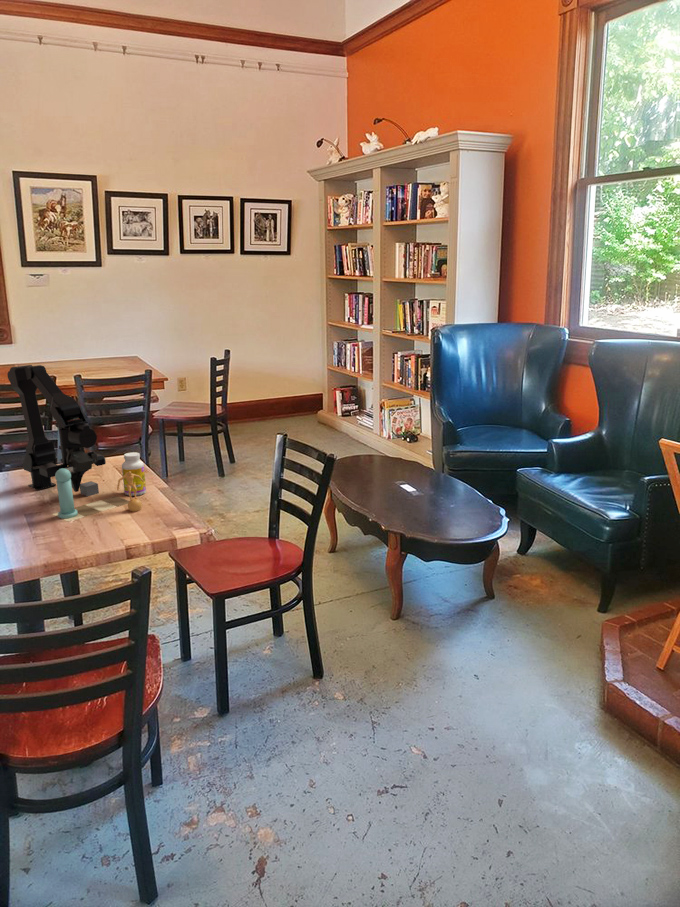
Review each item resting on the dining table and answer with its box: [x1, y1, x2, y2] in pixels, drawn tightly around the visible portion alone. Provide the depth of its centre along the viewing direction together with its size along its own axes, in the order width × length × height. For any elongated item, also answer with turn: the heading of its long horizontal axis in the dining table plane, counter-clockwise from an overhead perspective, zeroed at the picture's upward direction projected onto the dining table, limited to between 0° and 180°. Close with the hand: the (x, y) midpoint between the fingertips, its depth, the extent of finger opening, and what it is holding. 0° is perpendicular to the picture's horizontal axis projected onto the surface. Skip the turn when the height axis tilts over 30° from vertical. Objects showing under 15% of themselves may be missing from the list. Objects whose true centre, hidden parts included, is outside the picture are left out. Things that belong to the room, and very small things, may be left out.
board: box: [51, 495, 130, 523], centre depth 202 cm, size 10×21×1 cm, turn 139°
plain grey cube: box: [79, 480, 100, 498], centre depth 214 cm, size 4×4×4 cm
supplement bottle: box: [121, 451, 147, 497], centre depth 215 cm, size 7×7×13 cm
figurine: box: [116, 471, 146, 513], centre depth 199 cm, size 8×6×12 cm
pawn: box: [54, 468, 78, 520], centre depth 194 cm, size 5×5×14 cm
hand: (76, 491), depth 211 cm, fingers closed
